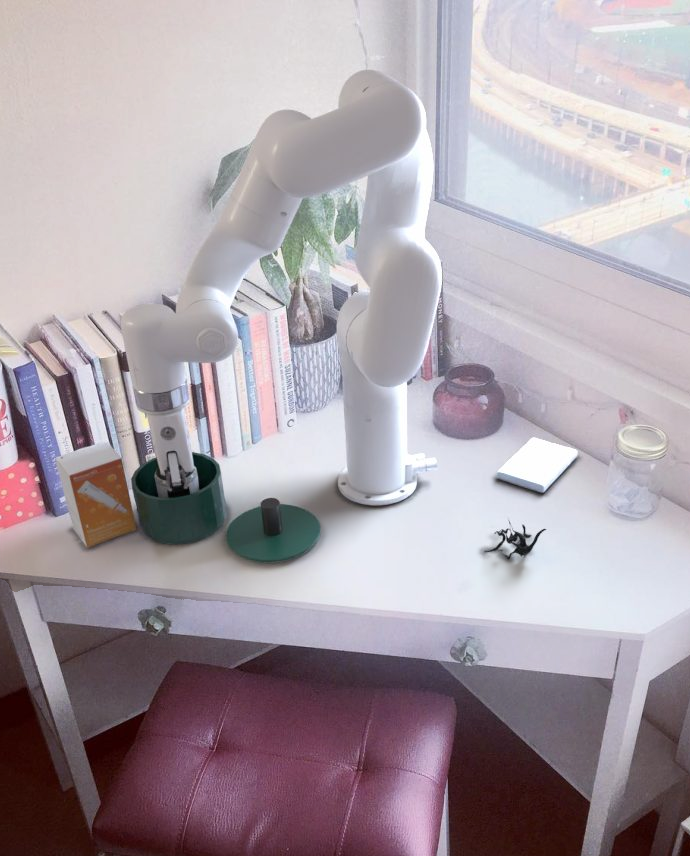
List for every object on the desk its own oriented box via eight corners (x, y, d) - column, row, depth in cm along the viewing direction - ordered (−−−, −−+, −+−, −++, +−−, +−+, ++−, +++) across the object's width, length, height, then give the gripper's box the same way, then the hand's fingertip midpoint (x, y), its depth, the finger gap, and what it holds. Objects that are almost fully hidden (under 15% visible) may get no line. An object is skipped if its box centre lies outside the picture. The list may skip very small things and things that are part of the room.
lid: (310, 503, 142) (308, 470, 138) (329, 556, 130) (327, 521, 127) (221, 518, 139) (216, 485, 136) (233, 573, 128) (228, 539, 125)
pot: (221, 488, 146) (215, 446, 141) (231, 535, 135) (225, 491, 131) (139, 502, 144) (129, 459, 139) (142, 550, 133) (133, 506, 129)
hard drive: (496, 479, 145) (531, 444, 153) (543, 494, 141) (577, 457, 149) (496, 470, 144) (532, 436, 152) (544, 485, 140) (578, 449, 148)
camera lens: (165, 526, 136) (156, 482, 131) (158, 504, 141) (150, 461, 136) (206, 517, 137) (199, 473, 133) (198, 495, 142) (191, 453, 138)
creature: (474, 552, 131) (507, 571, 125) (471, 518, 129) (504, 536, 122) (519, 535, 134) (553, 553, 127) (516, 502, 132) (551, 519, 125)
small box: (87, 549, 134) (67, 475, 127) (72, 529, 139) (53, 456, 131) (138, 530, 138) (122, 457, 130) (122, 510, 142) (106, 439, 135)
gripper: (193, 418, 121) (211, 526, 131) (183, 363, 135) (199, 465, 145) (137, 426, 120) (158, 535, 130) (132, 370, 134) (152, 473, 144)
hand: (180, 497), depth 137 cm, fingers closed on camera lens, 6 cm apart
